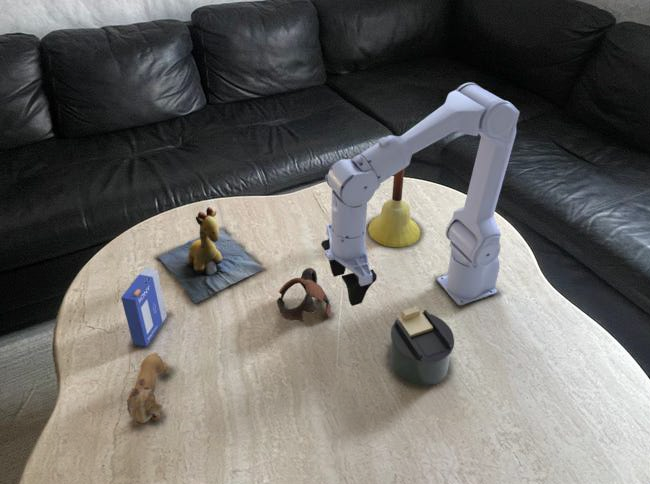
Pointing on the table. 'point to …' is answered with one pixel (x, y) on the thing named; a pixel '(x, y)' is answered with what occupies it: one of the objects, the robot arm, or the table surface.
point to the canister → (422, 352)
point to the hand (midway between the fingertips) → (346, 288)
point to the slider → (414, 322)
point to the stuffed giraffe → (209, 260)
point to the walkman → (144, 306)
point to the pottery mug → (307, 305)
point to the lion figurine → (146, 391)
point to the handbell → (395, 220)
